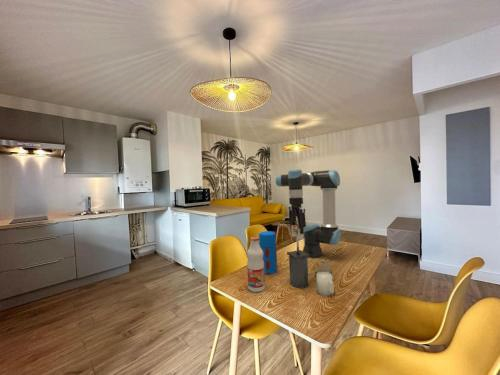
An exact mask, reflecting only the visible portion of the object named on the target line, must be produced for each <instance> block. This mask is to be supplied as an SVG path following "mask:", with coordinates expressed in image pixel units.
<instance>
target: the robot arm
mask: <svg viewBox="0 0 500 375" xmlns="http://www.w3.org/2000/svg"><path fill="white" fill-rule="evenodd" d="M287 173H288V174H287ZM287 173H286V174H278V175H276V177H275V184H276V186H277V187H288V197H289V198H288V200H289V203H288V204H289V205H291V206H288V224H290V226H291V227H290V228H291V237H292V238H295V237H296V232H294V226H299V227H298V238H299V241H302V240H304V241H303V243H304V245H303V248H302V251H303V252H305V253H307V254H309V255H310V257H308V258H309V259H310V258H311V259H317V258H322V257H323V255H324V253H323V250H322V247H321V244H326V245H330V246H331V245H332V246H337V245H339V243H340V242H341V236H342V231H341V229H340V228H339V226H338V225H337V222H336V220H337V218H336V191H337V190H338V187H339V186H340V184H341V177H340V175H339V172H338V171H337V170H335V169H333V170H331V169H330V170H329V169H328V170H315V171H311V172H304V173H303V171H302V169H298V168H297V169H288V172H287ZM307 186H309V187H320V188H319V189H320V190H321V191H322V224H321V225H319V224H316V223H315V224H308V225H307V224H306V223H307V221H306V208H303V207H302V205H303V204H304V198H303V195H304V194H303V187H307ZM296 222H297V223H296Z"/></svg>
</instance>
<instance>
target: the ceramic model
mask: <svg viewBox="0 0 500 375" xmlns="http://www.w3.org/2000/svg"><path fill="white" fill-rule="evenodd" d="M318 272H328V273H330V274H332V282H333V283H334V281H335V276H334V272H333V270H332V267H331V266H330V264H329V263H328V262H327V261H326V260H322V262H321V263H320V264H319V265H318V267H317V269H315V270H314V275H313V279H314V281H316V282H317V273H318Z"/></svg>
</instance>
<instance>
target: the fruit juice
mask: <svg viewBox="0 0 500 375" xmlns="http://www.w3.org/2000/svg"><path fill="white" fill-rule="evenodd" d="M249 241H250V245H249V247H248V250H247V251H246V257H247V261H246V267H247V270H246V271H247V288H248V290H249V291H250V292H254V293H260V292H263V291H264V290H265V288H266V280H265V279H266V276H265V275H266V274H265V273H264V261H263V250H262V249H261V248H260V245H259V236H251V237H249Z"/></svg>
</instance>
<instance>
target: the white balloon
mask: <svg viewBox="0 0 500 375" xmlns="http://www.w3.org/2000/svg"><path fill="white" fill-rule="evenodd" d="M334 286H335V285H334V281H333V282H332V274H330V273H328V272H318V273H317V281H316V292H317V294H319V295H321V296H324V297H329V296H332V295H333V294H334V293H335V292H334V290H335V289H334Z"/></svg>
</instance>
